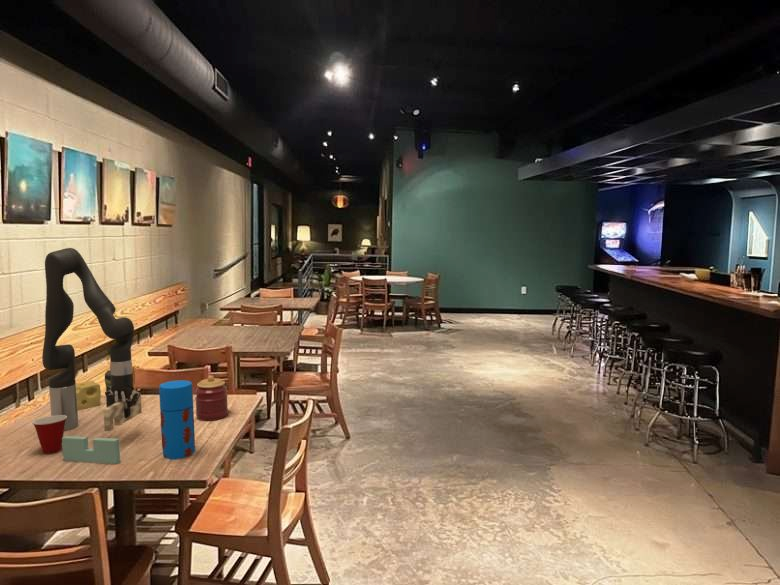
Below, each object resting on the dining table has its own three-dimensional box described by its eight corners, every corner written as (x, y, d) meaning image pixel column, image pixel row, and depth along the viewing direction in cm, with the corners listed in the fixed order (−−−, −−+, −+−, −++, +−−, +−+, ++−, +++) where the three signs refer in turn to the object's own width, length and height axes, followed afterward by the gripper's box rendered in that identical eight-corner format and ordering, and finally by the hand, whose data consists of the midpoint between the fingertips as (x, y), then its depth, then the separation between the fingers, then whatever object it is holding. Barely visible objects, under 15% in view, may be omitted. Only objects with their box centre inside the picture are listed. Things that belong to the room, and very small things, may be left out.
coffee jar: (132, 411, 247) (130, 370, 245) (114, 416, 241) (111, 373, 238) (121, 407, 253) (119, 366, 251) (103, 412, 247) (101, 370, 244)
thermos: (157, 453, 200) (153, 384, 198) (185, 445, 208) (182, 378, 205) (171, 462, 193) (168, 390, 190) (200, 453, 201) (197, 384, 198)
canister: (222, 421, 234) (221, 379, 232) (191, 421, 234) (189, 379, 232) (232, 411, 247) (230, 371, 245) (202, 411, 247) (200, 371, 245)
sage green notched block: (63, 460, 195) (61, 437, 194) (67, 458, 197) (66, 435, 196) (116, 463, 192) (115, 441, 191) (120, 461, 194) (118, 438, 193)
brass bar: (109, 431, 202) (108, 409, 201) (104, 430, 202) (103, 409, 201) (141, 412, 222) (140, 392, 220) (136, 412, 222) (135, 392, 221)
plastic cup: (65, 442, 211) (63, 411, 210) (72, 450, 203) (70, 418, 202) (31, 450, 204) (28, 417, 203) (37, 459, 196) (35, 425, 195)
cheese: (76, 410, 249) (74, 388, 248) (69, 405, 257) (68, 383, 255) (101, 405, 256) (100, 384, 254) (94, 400, 264) (93, 379, 262)
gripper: (97, 373, 207) (100, 419, 209) (133, 375, 205) (135, 421, 207) (110, 368, 214) (113, 412, 216) (144, 370, 212) (146, 414, 214)
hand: (123, 417), depth 212 cm, fingers closed on brass bar, 2 cm apart
